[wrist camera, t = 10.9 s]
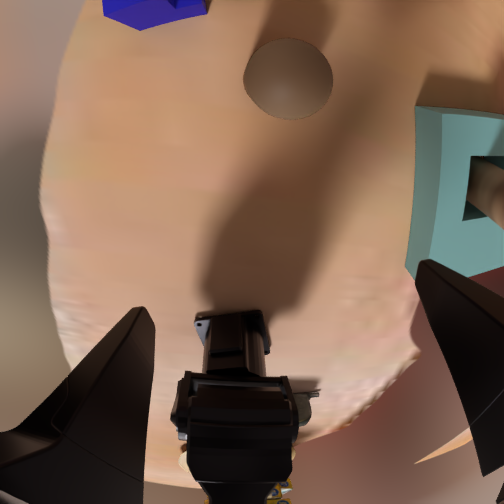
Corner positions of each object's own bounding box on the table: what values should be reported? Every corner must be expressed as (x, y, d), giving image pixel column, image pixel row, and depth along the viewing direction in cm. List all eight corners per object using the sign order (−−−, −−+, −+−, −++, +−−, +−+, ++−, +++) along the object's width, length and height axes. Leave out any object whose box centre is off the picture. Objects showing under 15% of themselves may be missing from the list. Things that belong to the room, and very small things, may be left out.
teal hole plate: (502, 243, 24) (519, 260, 21) (404, 266, 25) (421, 290, 22) (521, 118, 16) (546, 127, 13) (414, 105, 17) (442, 113, 14)
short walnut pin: (309, 105, 17) (337, 115, 12) (248, 112, 18) (253, 125, 13) (300, 49, 15) (326, 36, 10) (238, 56, 15) (238, 43, 10)
